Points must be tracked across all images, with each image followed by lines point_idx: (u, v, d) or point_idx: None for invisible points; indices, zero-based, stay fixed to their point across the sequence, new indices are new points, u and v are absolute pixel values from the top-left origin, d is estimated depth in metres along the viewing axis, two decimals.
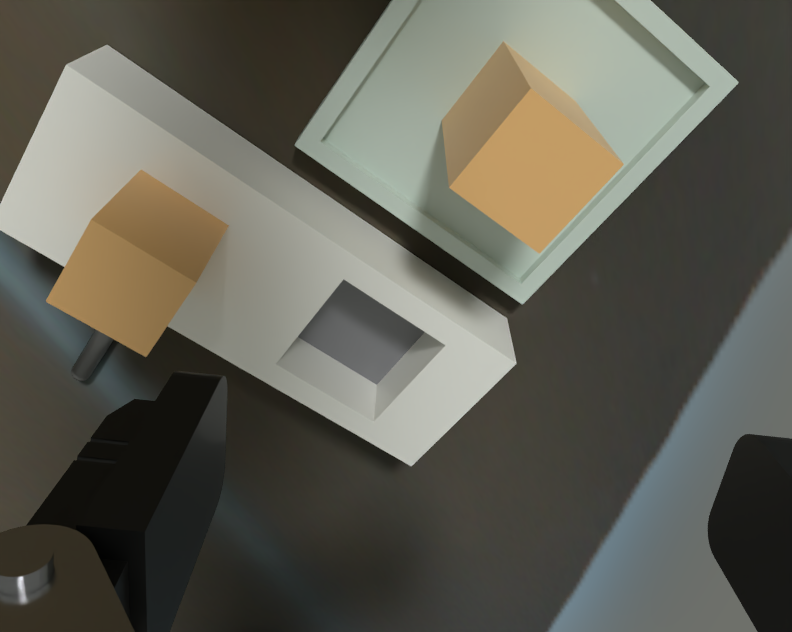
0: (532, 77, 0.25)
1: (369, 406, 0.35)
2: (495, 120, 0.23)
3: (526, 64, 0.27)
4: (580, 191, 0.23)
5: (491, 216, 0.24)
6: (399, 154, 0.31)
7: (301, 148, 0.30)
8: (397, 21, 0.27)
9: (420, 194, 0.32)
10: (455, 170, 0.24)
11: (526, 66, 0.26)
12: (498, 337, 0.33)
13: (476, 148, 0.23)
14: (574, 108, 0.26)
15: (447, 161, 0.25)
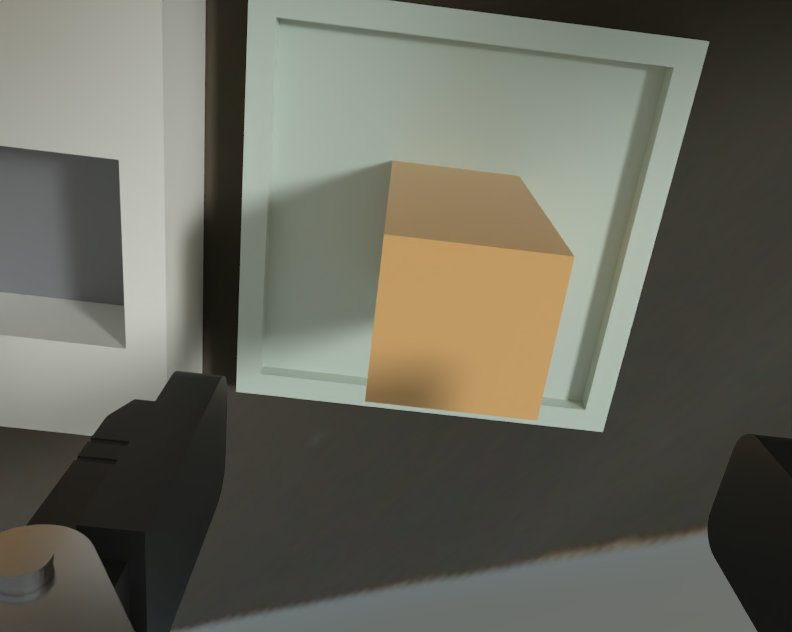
0: None
1: None
2: (497, 237, 0.15)
3: None
4: (476, 395, 0.16)
5: (377, 313, 0.15)
6: (320, 134, 0.22)
7: None
8: (482, 36, 0.20)
9: (287, 189, 0.22)
10: (403, 226, 0.15)
11: None
12: None
13: (452, 236, 0.15)
14: None
15: (389, 204, 0.17)
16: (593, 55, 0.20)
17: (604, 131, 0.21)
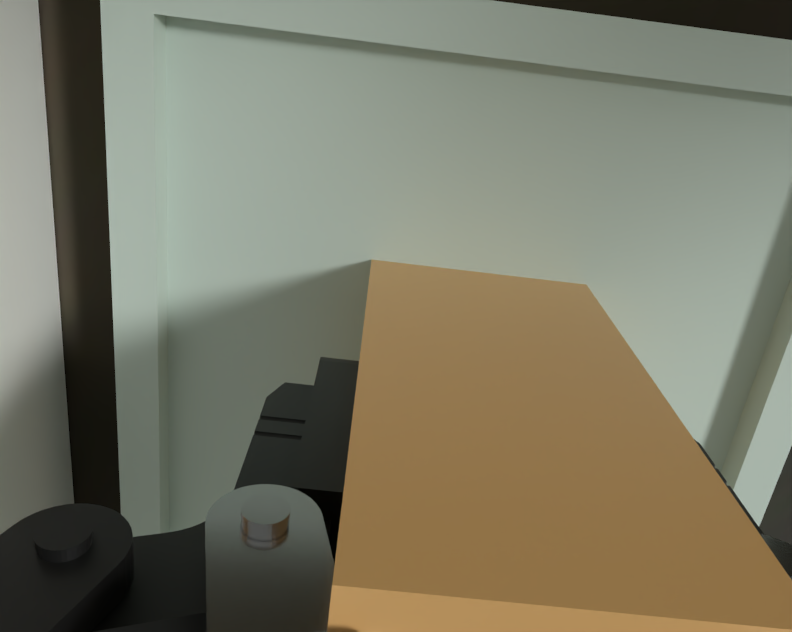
0: None
1: None
2: (615, 545, 0.06)
3: None
4: None
5: None
6: (247, 215, 0.13)
7: None
8: (533, 49, 0.11)
9: (195, 305, 0.13)
10: (385, 524, 0.06)
11: None
12: None
13: (508, 560, 0.06)
14: None
15: (358, 418, 0.08)
16: (733, 85, 0.11)
17: (735, 212, 0.12)
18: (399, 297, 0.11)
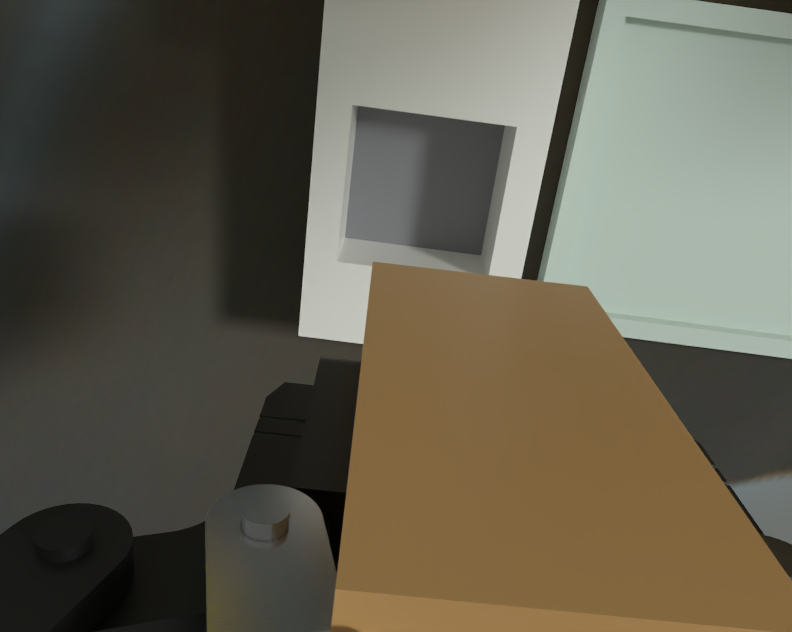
0: None
1: (340, 245, 0.27)
2: (616, 549, 0.06)
3: None
4: None
5: None
6: (637, 111, 0.27)
7: None
8: (789, 32, 0.25)
9: (602, 156, 0.27)
10: (387, 528, 0.06)
11: None
12: None
13: (510, 564, 0.06)
14: None
15: (360, 421, 0.08)
16: None
17: None
18: (400, 299, 0.11)
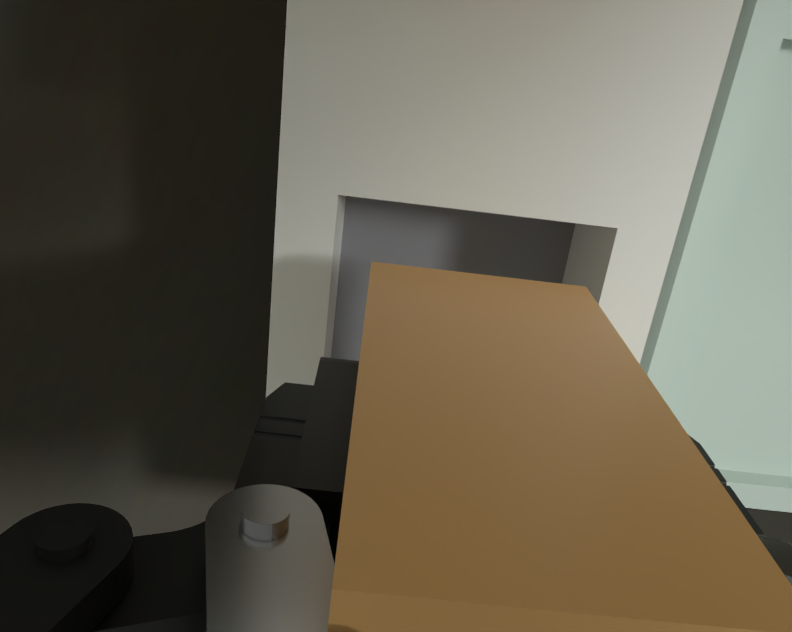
0: None
1: None
2: (613, 549, 0.06)
3: None
4: None
5: None
6: (784, 184, 0.17)
7: (757, 9, 0.15)
8: None
9: (724, 252, 0.18)
10: (384, 528, 0.06)
11: None
12: None
13: (507, 564, 0.06)
14: None
15: (357, 421, 0.08)
16: None
17: None
18: (399, 299, 0.11)
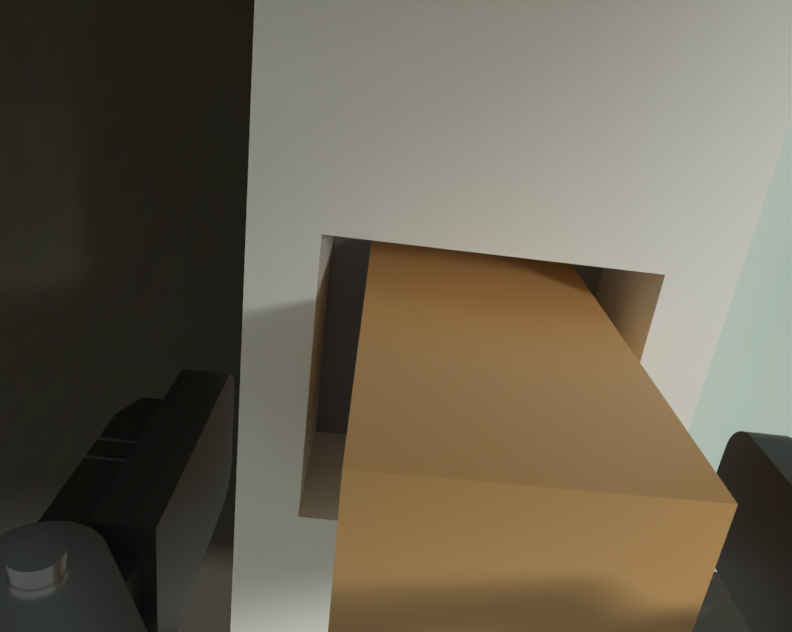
0: None
1: (306, 473, 0.14)
2: (571, 446, 0.08)
3: None
4: None
5: (336, 605, 0.08)
6: None
7: None
8: None
9: (778, 291, 0.15)
10: (384, 430, 0.08)
11: None
12: None
13: (483, 454, 0.07)
14: None
15: (361, 357, 0.09)
16: None
17: None
18: (397, 266, 0.13)
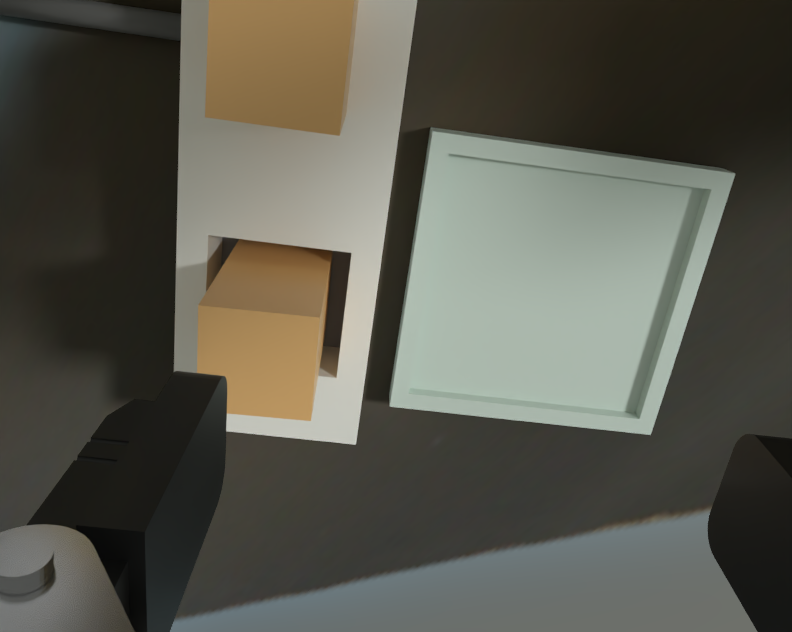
0: None
1: None
2: (276, 303, 0.24)
3: None
4: (268, 405, 0.25)
5: (199, 354, 0.24)
6: (467, 227, 0.31)
7: (433, 139, 0.29)
8: (586, 167, 0.30)
9: (439, 264, 0.32)
10: (215, 298, 0.24)
11: (328, 283, 0.29)
12: None
13: (245, 304, 0.24)
14: (322, 341, 0.29)
15: (216, 279, 0.25)
16: (659, 181, 0.30)
17: (661, 228, 0.31)
18: (246, 249, 0.29)
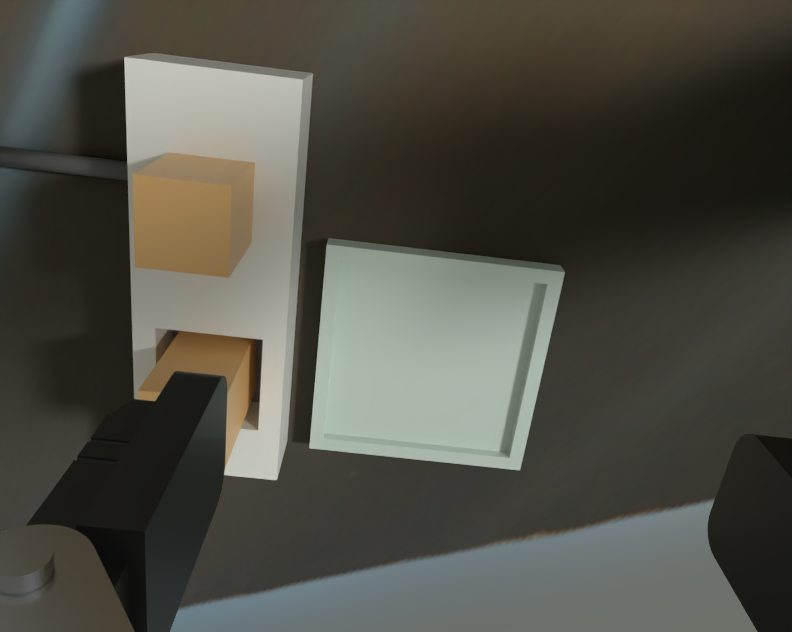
0: (240, 377, 0.36)
1: None
2: None
3: (251, 356, 0.39)
4: None
5: None
6: (361, 312, 0.40)
7: (327, 250, 0.38)
8: (447, 269, 0.38)
9: (342, 339, 0.41)
10: (152, 383, 0.33)
11: (248, 360, 0.38)
12: (281, 453, 0.41)
13: None
14: (244, 404, 0.38)
15: (156, 365, 0.35)
16: (505, 278, 0.38)
17: (514, 311, 0.40)
18: (187, 334, 0.38)
